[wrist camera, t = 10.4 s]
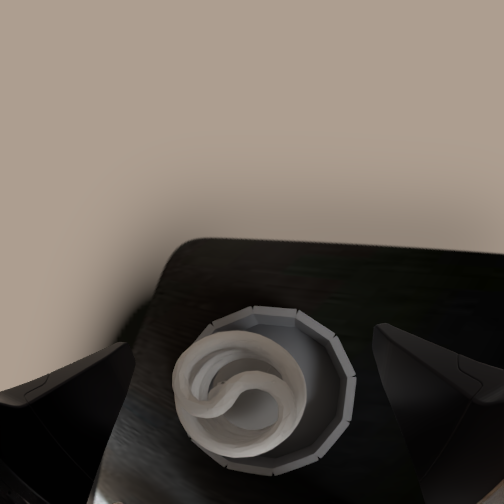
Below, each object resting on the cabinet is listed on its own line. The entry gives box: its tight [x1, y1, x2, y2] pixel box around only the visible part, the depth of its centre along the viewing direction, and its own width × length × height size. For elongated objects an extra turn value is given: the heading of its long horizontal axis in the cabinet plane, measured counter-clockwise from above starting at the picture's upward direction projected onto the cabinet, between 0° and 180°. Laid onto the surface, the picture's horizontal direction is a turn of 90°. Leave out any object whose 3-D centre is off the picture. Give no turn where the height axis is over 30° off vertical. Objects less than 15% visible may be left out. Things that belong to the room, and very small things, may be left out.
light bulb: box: [172, 330, 306, 458], centre depth 14 cm, size 6×6×12 cm
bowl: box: [187, 306, 356, 476], centre depth 18 cm, size 12×12×4 cm
